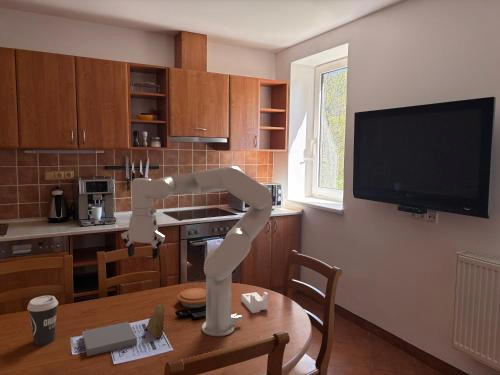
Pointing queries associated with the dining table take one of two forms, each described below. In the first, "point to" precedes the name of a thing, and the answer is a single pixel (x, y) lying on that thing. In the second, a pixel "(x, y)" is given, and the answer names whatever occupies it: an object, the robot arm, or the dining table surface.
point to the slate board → (108, 338)
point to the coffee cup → (43, 319)
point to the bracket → (255, 301)
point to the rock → (157, 321)
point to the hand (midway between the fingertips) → (143, 256)
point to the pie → (193, 297)
